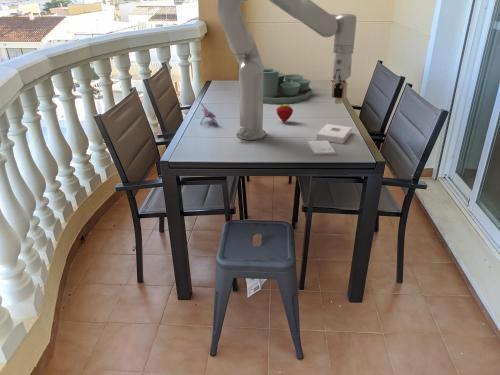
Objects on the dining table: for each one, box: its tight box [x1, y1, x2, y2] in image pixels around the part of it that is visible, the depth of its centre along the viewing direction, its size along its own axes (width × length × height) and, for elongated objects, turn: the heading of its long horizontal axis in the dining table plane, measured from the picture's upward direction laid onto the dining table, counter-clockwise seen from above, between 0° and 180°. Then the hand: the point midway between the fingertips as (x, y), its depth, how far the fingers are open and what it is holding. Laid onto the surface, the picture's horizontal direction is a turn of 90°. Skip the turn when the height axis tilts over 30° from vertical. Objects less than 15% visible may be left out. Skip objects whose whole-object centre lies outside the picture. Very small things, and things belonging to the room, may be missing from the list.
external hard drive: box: [307, 140, 337, 156], centre depth 158 cm, size 2×8×12 cm
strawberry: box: [276, 103, 294, 123], centre depth 184 cm, size 6×8×10 cm
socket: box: [315, 123, 353, 145], centre depth 169 cm, size 14×11×2 cm
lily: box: [198, 101, 218, 125], centre depth 184 cm, size 12×12×10 cm
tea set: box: [263, 65, 313, 105], centre depth 227 cm, size 40×40×16 cm
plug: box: [331, 81, 348, 105], centre depth 163 cm, size 4×5×8 cm
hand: (339, 95), depth 163 cm, fingers closed on plug, 4 cm apart
